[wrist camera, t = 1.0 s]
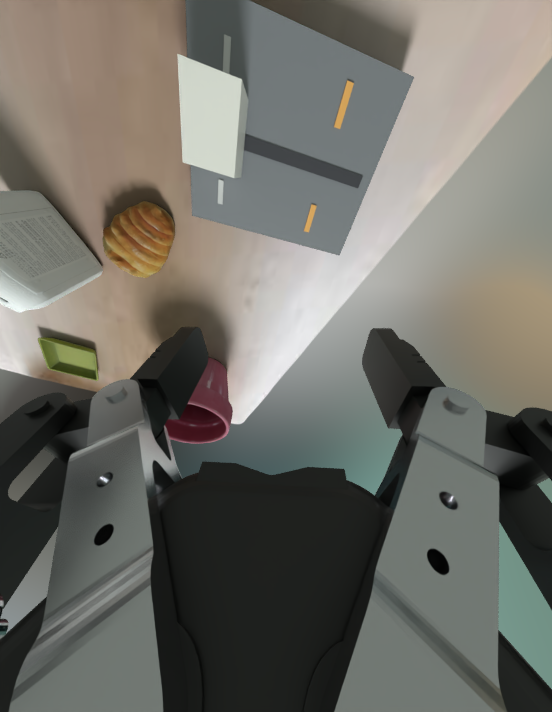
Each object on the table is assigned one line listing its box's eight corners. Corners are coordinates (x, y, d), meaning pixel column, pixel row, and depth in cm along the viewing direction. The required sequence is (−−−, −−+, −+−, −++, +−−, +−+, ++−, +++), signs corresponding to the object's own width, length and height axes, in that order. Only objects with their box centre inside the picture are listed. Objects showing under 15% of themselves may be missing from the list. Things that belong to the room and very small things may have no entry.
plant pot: (159, 372, 44) (129, 427, 34) (190, 333, 37) (162, 388, 28) (216, 398, 51) (204, 450, 41) (251, 369, 44) (246, 424, 34)
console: (199, 211, 25) (191, 215, 22) (197, -1, 16) (184, -32, 13) (333, 248, 28) (339, 255, 26) (397, 88, 19) (415, 76, 16)
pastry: (141, 181, 23) (123, 182, 20) (191, 234, 27) (182, 241, 24) (105, 239, 27) (86, 247, 24) (153, 278, 31) (141, 289, 28)
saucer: (46, 330, 37) (36, 337, 35) (101, 346, 39) (94, 353, 38) (56, 361, 42) (47, 369, 40) (104, 374, 44) (98, 381, 43)
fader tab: (199, 164, 19) (182, 162, 16) (198, 81, 16) (177, 53, 13) (241, 177, 20) (234, 178, 16) (248, 99, 17) (241, 79, 13)
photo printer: (10, 196, 24) (-157, 210, 14) (37, 182, 23) (-120, 188, 14) (87, 280, 30) (7, 326, 21) (111, 271, 29) (38, 315, 20)
